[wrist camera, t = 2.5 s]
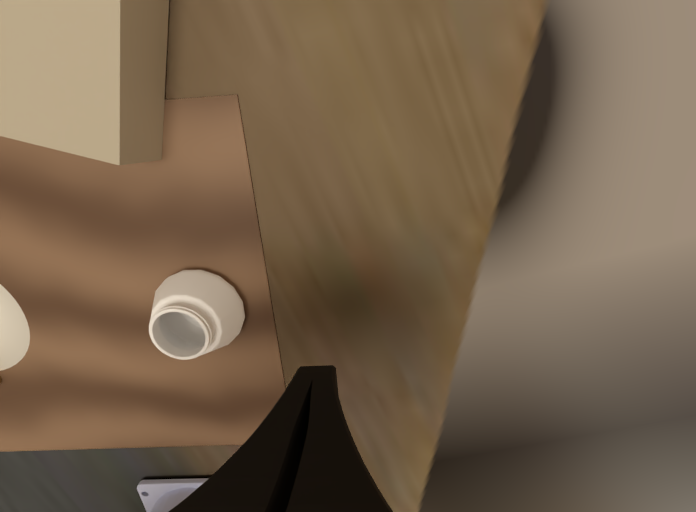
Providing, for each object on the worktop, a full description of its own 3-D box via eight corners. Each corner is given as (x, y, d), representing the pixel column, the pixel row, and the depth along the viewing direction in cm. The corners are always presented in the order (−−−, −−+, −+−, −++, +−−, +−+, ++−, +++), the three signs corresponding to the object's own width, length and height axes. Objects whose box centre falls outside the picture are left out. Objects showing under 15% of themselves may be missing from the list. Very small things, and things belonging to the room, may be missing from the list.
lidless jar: (240, 266, 18) (152, 267, 19) (219, 289, 16) (116, 291, 16) (251, 341, 20) (171, 342, 20) (235, 375, 17) (142, 375, 18)
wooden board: (296, 430, 24) (290, 462, 22) (-68, 441, 25) (-111, 473, 23) (243, 96, 16) (225, 90, 14) (-277, 135, 17) (-373, 135, 15)
